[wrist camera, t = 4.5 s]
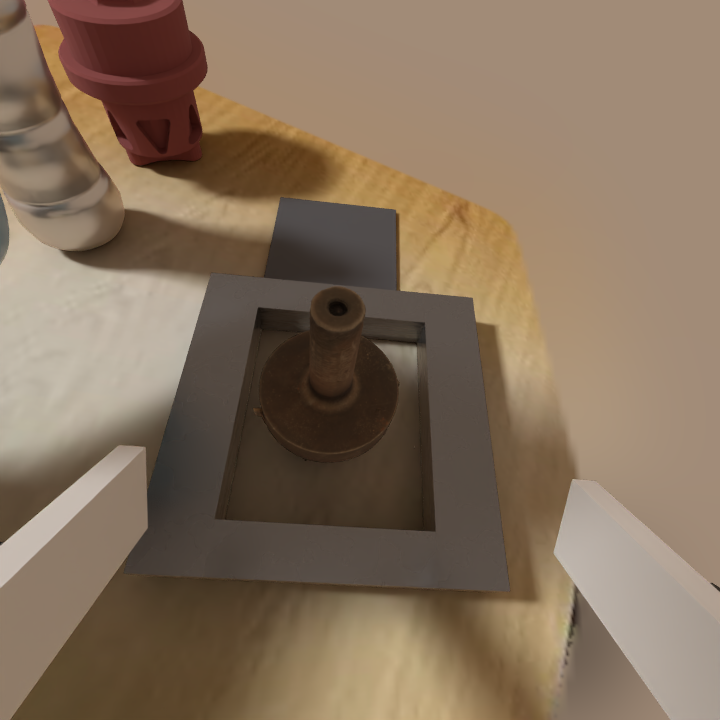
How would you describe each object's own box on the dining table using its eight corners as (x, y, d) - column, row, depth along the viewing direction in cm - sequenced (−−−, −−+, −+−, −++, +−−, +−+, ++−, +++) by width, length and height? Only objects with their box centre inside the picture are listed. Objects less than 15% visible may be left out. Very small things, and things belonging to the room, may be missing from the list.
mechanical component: (139, 109, 40) (239, 132, 40) (83, 171, 35) (196, 197, 35) (78, -67, 30) (213, -38, 29) (-16, -15, 24) (146, 21, 24)
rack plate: (142, 576, 21) (123, 573, 19) (218, 296, 30) (211, 272, 28) (490, 592, 22) (510, 591, 20) (461, 318, 31) (472, 297, 29)
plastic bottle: (142, 249, 31) (-61, -176, 14) (43, 274, 29) (-337, -188, 12) (124, 195, 34) (-66, -217, 17) (31, 215, 32) (-294, -233, 15)
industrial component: (254, 477, 24) (210, 383, 13) (271, 368, 27) (247, 228, 17) (414, 486, 24) (490, 403, 14) (410, 378, 28) (468, 250, 18)
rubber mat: (262, 289, 31) (262, 286, 30) (280, 200, 36) (280, 197, 35) (395, 302, 31) (396, 299, 31) (395, 212, 36) (395, 209, 36)
